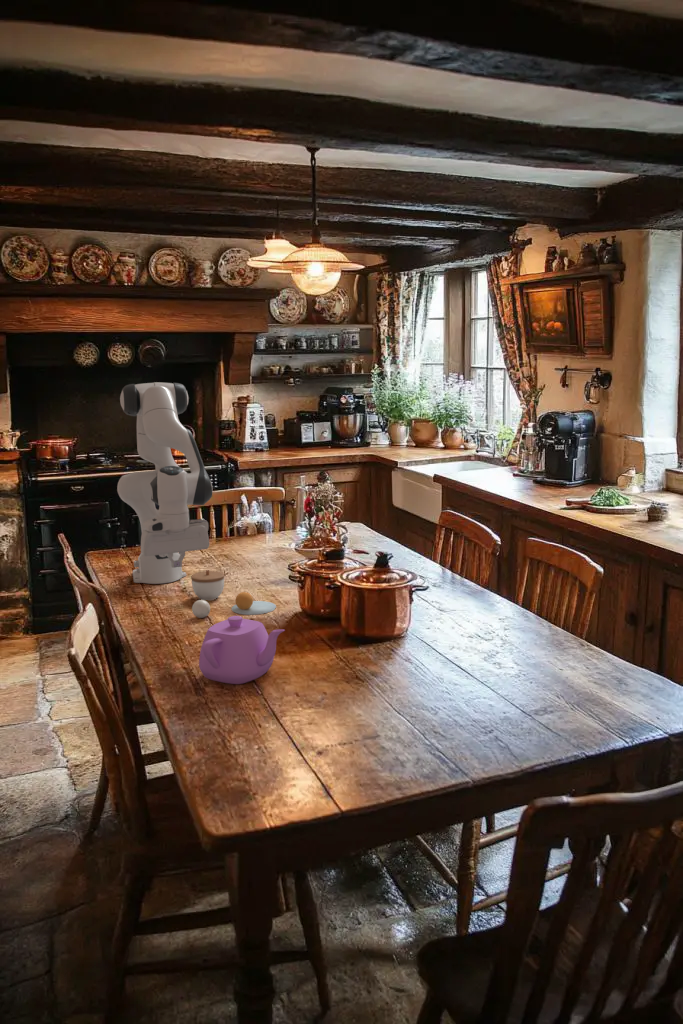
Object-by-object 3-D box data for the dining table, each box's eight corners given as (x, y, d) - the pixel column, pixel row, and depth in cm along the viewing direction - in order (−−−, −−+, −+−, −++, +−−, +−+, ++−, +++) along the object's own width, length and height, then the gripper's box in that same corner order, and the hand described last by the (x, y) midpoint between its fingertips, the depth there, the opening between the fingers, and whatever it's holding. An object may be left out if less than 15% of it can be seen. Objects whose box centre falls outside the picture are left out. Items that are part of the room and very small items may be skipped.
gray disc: (225, 605, 274) (225, 604, 274) (266, 599, 280) (266, 598, 280) (240, 617, 261) (240, 616, 261) (282, 610, 267) (282, 610, 267)
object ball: (249, 589, 272) (248, 606, 273) (233, 590, 270) (232, 607, 270) (256, 593, 268) (255, 611, 268) (240, 594, 265) (239, 612, 266)
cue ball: (208, 596, 264) (208, 612, 266) (191, 597, 262) (190, 613, 264) (212, 604, 259) (211, 620, 261) (193, 605, 257) (193, 621, 259)
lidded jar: (208, 604, 275) (207, 576, 273) (185, 599, 282) (184, 571, 280) (232, 596, 284) (230, 569, 282) (209, 591, 290) (207, 564, 288)
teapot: (179, 685, 209) (176, 626, 207) (231, 658, 227) (229, 603, 224) (256, 703, 198) (253, 641, 195) (304, 673, 216) (303, 615, 213)
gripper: (204, 516, 262) (206, 560, 264) (137, 523, 253) (140, 568, 255) (211, 519, 256) (213, 564, 259) (142, 527, 247) (145, 573, 250)
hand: (176, 566), depth 257 cm, fingers closed
